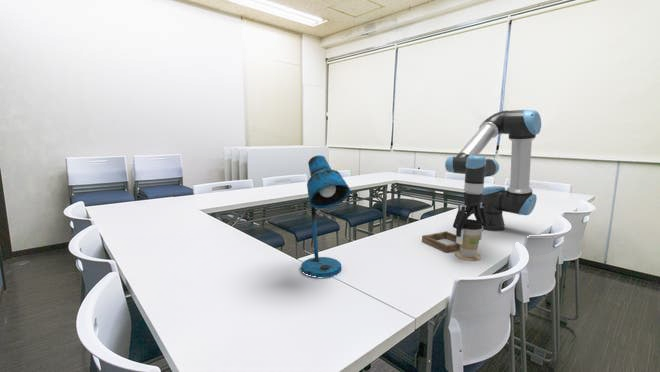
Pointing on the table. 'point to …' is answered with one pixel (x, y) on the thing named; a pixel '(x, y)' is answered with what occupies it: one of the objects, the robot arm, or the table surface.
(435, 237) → the pocket frame
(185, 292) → the table surface
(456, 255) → the cork coaster
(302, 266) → the desk lamp
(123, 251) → the table surface
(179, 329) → the table surface
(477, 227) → the coffee cup
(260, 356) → the table surface
